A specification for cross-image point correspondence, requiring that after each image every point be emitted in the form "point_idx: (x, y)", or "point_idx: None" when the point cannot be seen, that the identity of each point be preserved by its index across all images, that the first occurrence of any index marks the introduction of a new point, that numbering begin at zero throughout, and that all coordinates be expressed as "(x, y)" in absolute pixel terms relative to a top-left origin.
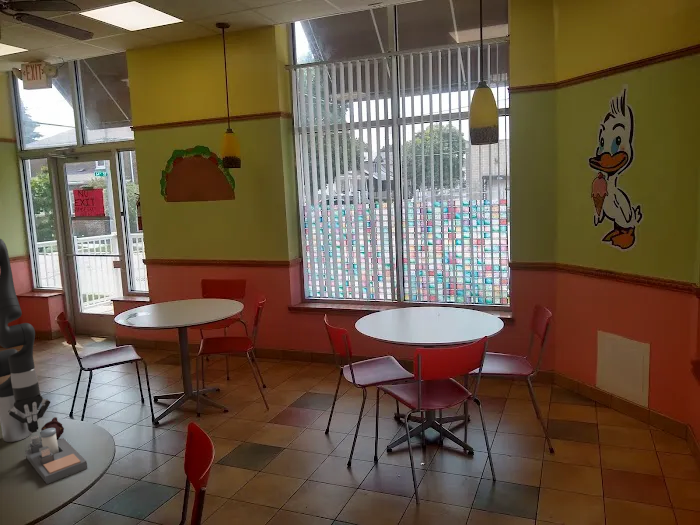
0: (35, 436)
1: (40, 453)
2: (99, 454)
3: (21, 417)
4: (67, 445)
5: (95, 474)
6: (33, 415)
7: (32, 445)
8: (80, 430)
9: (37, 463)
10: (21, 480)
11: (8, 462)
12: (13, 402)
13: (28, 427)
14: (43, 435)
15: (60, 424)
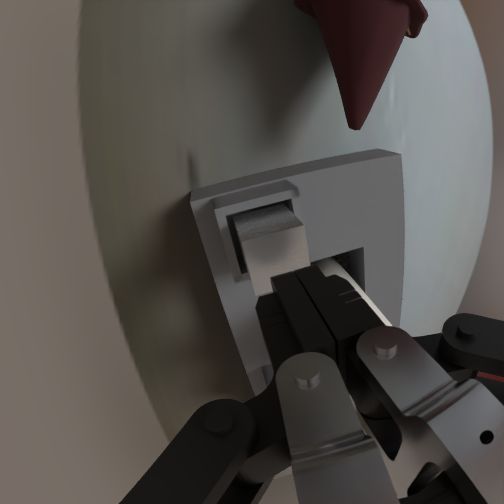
0: (286, 249)
1: None
2: (430, 328)
3: (229, 473)
4: (394, 270)
5: None
6: (391, 461)
7: (245, 265)
8: (440, 37)
9: (256, 379)
10: (194, 389)
11: (100, 189)
12: None
13: (271, 363)
14: None
15: (423, 21)
